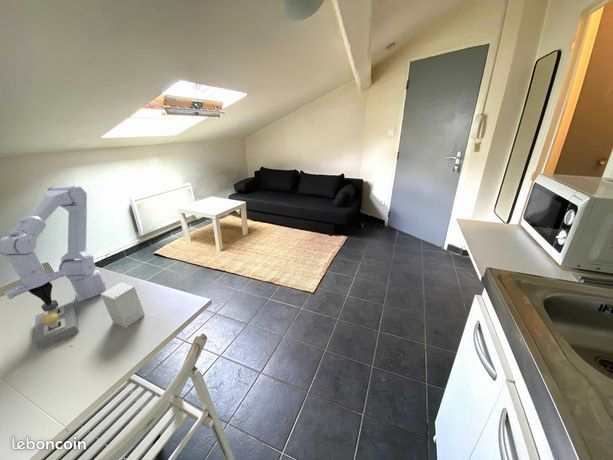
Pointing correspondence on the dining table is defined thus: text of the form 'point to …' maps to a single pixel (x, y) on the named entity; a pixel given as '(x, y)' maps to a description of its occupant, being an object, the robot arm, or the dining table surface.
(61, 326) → the mount plate
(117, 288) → the supplement box
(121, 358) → the dining table surface
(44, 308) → the knob
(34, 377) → the dining table surface
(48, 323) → the knob
